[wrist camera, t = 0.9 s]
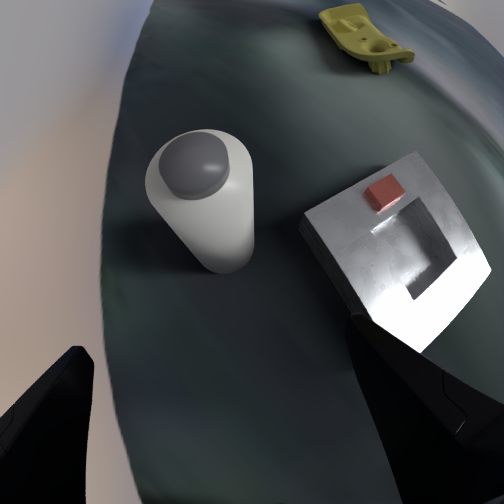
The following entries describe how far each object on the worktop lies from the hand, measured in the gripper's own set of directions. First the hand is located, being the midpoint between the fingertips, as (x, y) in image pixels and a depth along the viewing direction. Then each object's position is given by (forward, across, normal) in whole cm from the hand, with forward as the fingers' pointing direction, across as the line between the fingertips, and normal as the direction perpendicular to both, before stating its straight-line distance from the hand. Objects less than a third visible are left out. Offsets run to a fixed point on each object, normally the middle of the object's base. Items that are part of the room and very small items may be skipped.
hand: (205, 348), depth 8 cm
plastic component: (+36, -24, -16) cm, 46 cm away
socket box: (+12, -15, +7) cm, 21 cm away
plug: (+15, 0, +4) cm, 15 cm away
